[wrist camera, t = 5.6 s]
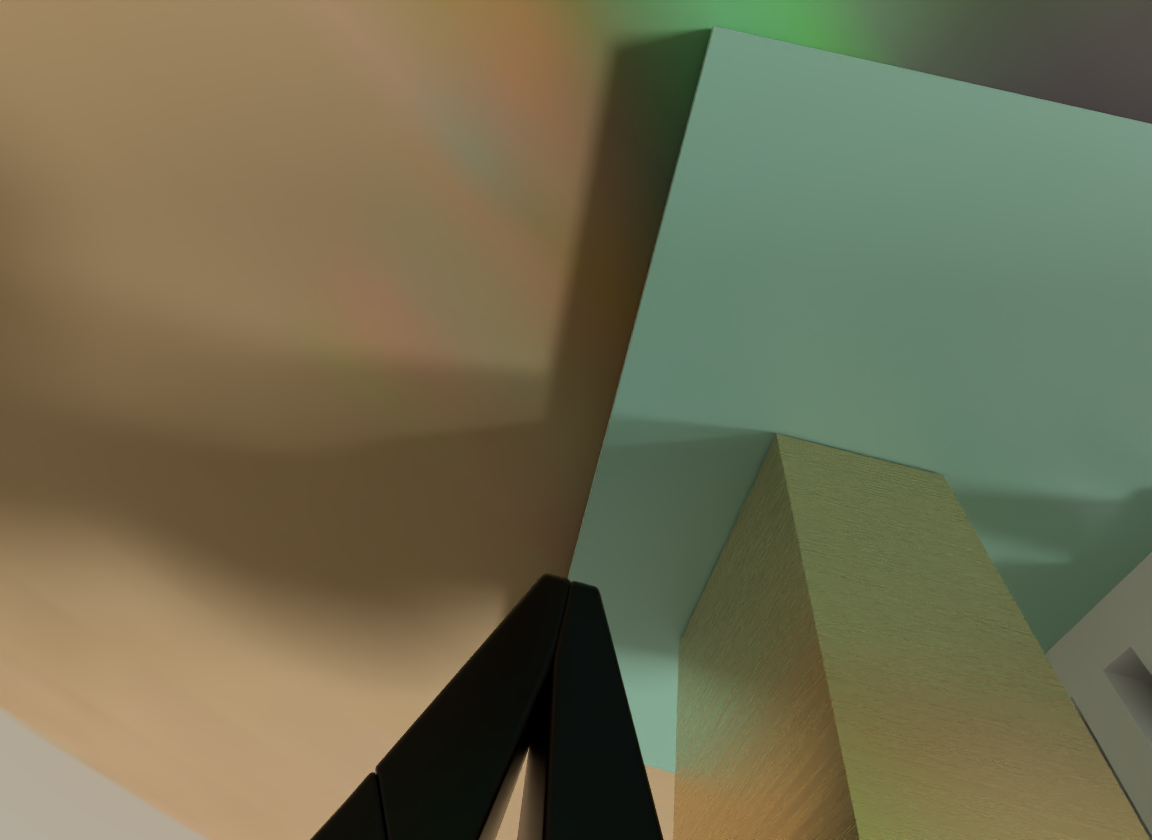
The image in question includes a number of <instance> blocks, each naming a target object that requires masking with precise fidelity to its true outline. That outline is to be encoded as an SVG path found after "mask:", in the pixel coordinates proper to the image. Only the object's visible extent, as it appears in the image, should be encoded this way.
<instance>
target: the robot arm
mask: <svg viewBox="0 0 1152 840" xmlns="http://www.w3.org/2000/svg"><path fill="white" fill-rule="evenodd" d="M528 749H529V752H528ZM527 752H528V760H527V767H526V775H525V783H524V791H523V798H522V806H521V814H520V822H519V829H518V837H517V840H663V836H662V832H661V828H660V824H659V820H658V816H657V812H656V808H655V804H654V801H653V797H652V793H651V789H650V785H649V781H648V777H647V773H646V769H645V765H644V762H643V758H642V754H641V750H640V746H639V742H638V738H637V734H636V730H635V726H634V723H633V719H632V715H631V711H630V707H629V703H628V699H627V695H626V691H625V688H624V684H623V680H622V676H621V672H620V668H619V664H618V660H617V656H616V652H615V649H614V645H613V641H612V637H611V633H610V629H609V625H608V621H607V617H606V613H605V610H604V606H603V602H602V598H601V594H600V591H599V589H598V588H597V587H595V586H593V585H589V584H585V583H582V582H578V581H572V582H571V581H570V580H569V579H567V578H563V577H559V576H556V575H552V574H544V575H543V576H541V577H540V578H539V580H538V581H537V582H536V583H535V584H534V585H533V586H532V588H531V589H530V590H529V591H528V592H527V593H526V594H525V596H524V597H523V598H522V599H521V600H520V601H519V603H518V604H517V605H516V606H515V607H514V608H513V609H512V611H511V612H510V613H509V614H508V615H507V616H506V618H505V619H504V620H503V621H502V622H501V623H500V624H499V626H498V627H497V628H496V629H495V630H494V631H493V632H492V634H491V635H490V636H489V637H488V638H487V639H486V641H485V642H484V643H483V644H482V645H481V646H480V647H479V649H478V650H477V651H476V652H475V653H474V654H473V656H472V657H471V658H470V659H469V660H468V661H467V662H466V664H465V665H464V666H463V667H462V668H461V669H460V670H459V672H458V673H457V674H456V675H455V676H454V677H453V679H452V680H451V681H450V682H449V683H448V684H447V685H446V687H445V688H444V689H443V690H442V691H441V692H440V693H439V695H438V696H437V697H436V698H435V699H434V700H433V702H432V703H431V704H430V705H429V706H428V707H427V708H426V710H425V711H424V712H423V713H422V714H421V715H420V717H419V718H418V719H417V720H416V721H415V722H414V723H413V725H412V726H411V727H410V728H409V729H408V730H407V731H406V733H405V734H404V735H403V736H402V737H401V738H400V740H399V741H398V742H397V743H396V744H395V745H394V746H393V748H392V749H391V750H390V751H389V752H388V753H387V754H386V756H385V757H384V758H383V759H382V760H381V761H380V763H379V764H378V765H377V766H376V769H375V773H374V772H372V773H370V774H369V775H368V776H367V777H366V778H365V779H364V780H363V782H362V783H361V784H360V785H359V786H358V787H357V788H356V790H355V791H354V792H353V793H352V794H351V795H350V797H349V798H348V799H347V800H346V801H345V802H344V803H343V804H342V805H341V807H340V808H339V809H338V810H337V811H336V812H335V813H334V814H333V815H332V816H331V817H330V819H329V820H328V821H327V822H326V823H325V824H324V825H323V826H322V827H321V828H320V829H319V831H318V832H317V833H316V834H315V835H314V836H313V837H312V838H311V839H310V840H495V838H496V836H497V833H498V830H499V828H500V825H501V822H502V820H503V817H504V814H505V811H506V809H507V806H508V803H509V801H510V798H511V795H512V793H513V790H514V787H515V784H516V782H517V779H518V776H519V774H520V771H521V768H522V766H523V763H524V760H525V758H526V755H527Z"/></svg>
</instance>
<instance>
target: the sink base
mask: <svg viewBox="0 0 1152 840" xmlns="http://www.w3.org/2000/svg"><path fill="white" fill-rule="evenodd" d="M776 434H780V435H784V436H788V437H792V438H796V439H800V440H804V441H808V442H812V443H816V444H820V445H824V446H828V447H832V448H836V449H840V450H844V451H848V452H852V453H856V454H860V455H864V456H868V457H872V458H876V459H880V460H884V461H888V462H892V463H896V464H900V465H904V466H908V467H912V468H916V469H920V470H924V471H928V472H932V473H936V474H940V475H943V476H944V477H945V479H946V481H947V483H948V484H949V486H950V488H951V490H952V491H953V493H954V495H955V497H956V498H957V500H958V502H959V504H960V506H961V507H962V509H963V511H964V513H965V514H966V516H967V518H968V520H969V521H970V523H971V525H972V527H973V528H974V530H975V532H976V534H977V535H978V537H979V539H980V541H981V543H982V544H983V546H984V548H985V550H986V551H987V553H988V555H989V557H990V558H991V560H992V562H993V564H994V565H995V567H996V569H997V571H998V572H999V574H1000V576H1001V578H1002V579H1003V581H1004V583H1005V585H1006V587H1007V588H1008V590H1009V592H1010V594H1011V595H1012V597H1013V599H1014V601H1015V602H1016V604H1017V606H1018V608H1019V609H1020V611H1021V613H1022V615H1023V616H1024V618H1025V620H1026V622H1027V624H1028V625H1029V627H1030V629H1031V631H1032V632H1033V634H1034V636H1035V638H1036V639H1037V641H1038V643H1039V645H1040V646H1041V648H1042V650H1043V652H1044V653H1045V655H1046V657H1047V659H1048V660H1049V662H1050V664H1051V666H1052V668H1053V669H1054V671H1055V673H1056V675H1057V676H1058V678H1059V680H1060V682H1061V683H1062V685H1063V687H1064V689H1065V690H1066V692H1067V694H1068V696H1069V697H1070V699H1071V701H1072V703H1073V704H1074V706H1075V708H1076V710H1077V712H1078V713H1079V715H1080V717H1081V719H1082V720H1083V722H1084V724H1085V726H1086V727H1087V729H1088V731H1089V733H1090V734H1091V736H1092V738H1093V740H1094V741H1095V743H1096V745H1097V747H1098V749H1099V750H1100V752H1101V754H1102V756H1103V757H1104V759H1105V761H1106V763H1107V764H1108V766H1109V768H1110V770H1111V771H1112V773H1113V775H1114V777H1115V778H1116V780H1117V782H1118V784H1119V785H1120V787H1121V789H1122V791H1123V793H1124V794H1125V796H1126V798H1127V800H1128V801H1129V803H1130V805H1131V807H1132V808H1133V810H1134V812H1135V814H1136V815H1137V817H1138V819H1139V821H1140V822H1141V824H1142V826H1143V828H1144V830H1145V831H1146V833H1147V835H1148V837H1149V838H1150V840H1152V124H1150V123H1145V122H1141V121H1136V120H1132V119H1127V118H1123V117H1118V116H1114V115H1110V114H1105V113H1101V112H1096V111H1092V110H1087V109H1083V108H1078V107H1074V106H1069V105H1065V104H1061V103H1056V102H1052V101H1047V100H1043V99H1038V98H1034V97H1029V96H1025V95H1020V94H1016V93H1011V92H1007V91H1003V90H998V89H994V88H989V87H985V86H980V85H976V84H971V83H967V82H962V81H958V80H953V79H949V78H945V77H940V76H936V75H931V74H927V73H922V72H918V71H913V70H909V69H904V68H900V67H895V66H891V65H887V64H882V63H878V62H873V61H869V60H864V59H860V58H855V57H851V56H846V55H842V54H838V53H833V52H829V51H824V50H820V49H815V48H811V47H806V46H802V45H797V44H793V43H788V42H784V41H780V40H775V39H771V38H766V37H762V36H757V35H753V34H748V33H744V32H739V31H735V30H730V29H726V28H722V27H717V26H714V27H712V30H711V34H710V37H709V41H708V45H707V49H706V53H705V56H704V60H703V64H702V68H701V72H700V75H699V79H698V83H697V87H696V91H695V94H694V98H693V102H692V106H691V110H690V113H689V117H688V121H687V125H686V129H685V132H684V136H683V140H682V144H681V148H680V151H679V155H678V159H677V163H676V167H675V170H674V174H673V178H672V182H671V186H670V189H669V193H668V197H667V201H666V205H665V208H664V212H663V216H662V220H661V224H660V227H659V231H658V235H657V239H656V243H655V246H654V250H653V254H652V258H651V262H650V265H649V269H648V273H647V277H646V281H645V284H644V288H643V292H642V296H641V300H640V303H639V307H638V311H637V315H636V319H635V322H634V326H633V330H632V334H631V338H630V341H629V345H628V349H627V353H626V357H625V360H624V364H623V368H622V372H621V376H620V379H619V383H618V387H617V391H616V395H615V398H614V402H613V406H612V410H611V414H610V417H609V421H608V425H607V429H606V433H605V436H604V440H603V444H602V448H601V452H600V455H599V459H598V463H597V467H596V471H595V474H594V478H593V482H592V486H591V490H590V493H589V497H588V501H587V505H586V509H585V512H584V516H583V520H582V524H581V528H580V531H579V535H578V539H577V543H576V547H575V550H574V554H573V558H572V562H571V566H570V569H569V573H568V577H567V579H569V580H570V581H571V582H572V581H578V582H582V583H585V584H589V585H593V586H595V587H597V588H598V589H599V591H600V594H601V598H602V602H603V606H604V610H605V613H606V617H607V621H608V625H609V629H610V633H611V637H612V641H613V645H614V649H615V652H616V656H617V660H618V664H619V668H620V672H621V676H622V680H623V684H624V688H625V691H626V695H627V699H628V703H629V707H630V711H631V715H632V719H633V723H634V726H635V730H636V734H637V738H638V742H639V746H640V750H641V754H642V758H643V762H644V765H647V766H651V767H655V768H658V769H662V770H666V771H669V772H673V773H675V762H676V726H677V689H678V653H679V643H680V641H681V639H682V636H683V634H684V632H685V630H686V628H687V626H688V623H689V621H690V619H691V617H692V615H693V613H694V611H695V608H696V606H697V604H698V602H699V600H700V598H701V595H702V593H703V591H704V589H705V587H706V585H707V582H708V580H709V578H710V576H711V574H712V572H713V570H714V567H715V565H716V563H717V561H718V559H719V557H720V554H721V552H722V550H723V548H724V546H725V544H726V541H727V539H728V537H729V535H730V533H731V531H732V529H733V526H734V524H735V522H736V520H737V518H738V516H739V513H740V511H741V509H742V507H743V505H744V503H745V500H746V498H747V496H748V494H749V492H750V490H751V488H752V485H753V483H754V481H755V479H756V477H757V475H758V472H759V470H760V468H761V466H762V464H763V462H764V459H765V457H766V455H767V453H768V451H769V449H770V447H771V444H772V442H773V440H774V438H775V436H776Z"/></svg>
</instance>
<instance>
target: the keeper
mask: <svg viewBox="0 0 1152 840" xmlns="http://www.w3.org/2000/svg"><path fill="white" fill-rule="evenodd" d="M673 840H1150V838H1149V837H1148V835H1147V833H1146V831H1145V830H1144V828H1143V826H1142V824H1141V822H1140V821H1139V819H1138V817H1137V815H1136V814H1135V812H1134V810H1133V808H1132V807H1131V805H1130V803H1129V801H1128V800H1127V798H1126V796H1125V794H1124V793H1123V791H1122V789H1121V787H1120V785H1119V784H1118V782H1117V780H1116V778H1115V777H1114V775H1113V773H1112V771H1111V770H1110V768H1109V766H1108V764H1107V763H1106V761H1105V759H1104V757H1103V756H1102V754H1101V752H1100V750H1099V749H1098V747H1097V745H1096V743H1095V741H1094V740H1093V738H1092V736H1091V734H1090V733H1089V731H1088V729H1087V727H1086V726H1085V724H1084V722H1083V720H1082V719H1081V717H1080V715H1079V713H1078V712H1077V710H1076V708H1075V706H1074V704H1073V703H1072V701H1071V699H1070V697H1069V696H1068V694H1067V692H1066V690H1065V689H1064V687H1063V685H1062V683H1061V682H1060V680H1059V678H1058V676H1057V675H1056V673H1055V671H1054V669H1053V668H1052V666H1051V664H1050V662H1049V660H1048V659H1047V657H1046V655H1045V653H1044V652H1043V650H1042V648H1041V646H1040V645H1039V643H1038V641H1037V639H1036V638H1035V636H1034V634H1033V632H1032V631H1031V629H1030V627H1029V625H1028V624H1027V622H1026V620H1025V618H1024V616H1023V615H1022V613H1021V611H1020V609H1019V608H1018V606H1017V604H1016V602H1015V601H1014V599H1013V597H1012V595H1011V594H1010V592H1009V590H1008V588H1007V587H1006V585H1005V583H1004V581H1003V579H1002V578H1001V576H1000V574H999V572H998V571H997V569H996V567H995V565H994V564H993V562H992V560H991V558H990V557H989V555H988V553H987V551H986V550H985V548H984V546H983V544H982V543H981V541H980V539H979V537H978V535H977V534H976V532H975V530H974V528H973V527H972V525H971V523H970V521H969V520H968V518H967V516H966V514H965V513H964V511H963V509H962V507H961V506H960V504H959V502H958V500H957V498H956V497H955V495H954V493H953V491H952V490H951V488H950V486H949V484H948V483H947V481H946V479H945V477H944V476H943V475H940V474H936V473H932V472H928V471H924V470H920V469H916V468H912V467H908V466H904V465H900V464H896V463H892V462H888V461H884V460H880V459H876V458H872V457H868V456H864V455H860V454H856V453H852V452H848V451H844V450H840V449H836V448H832V447H828V446H824V445H820V444H816V443H812V442H808V441H804V440H800V439H796V438H792V437H788V436H784V435H780V434H776V436H775V438H774V440H773V442H772V444H771V447H770V449H769V451H768V453H767V455H766V457H765V459H764V462H763V464H762V466H761V468H760V470H759V472H758V475H757V477H756V479H755V481H754V483H753V485H752V488H751V490H750V492H749V494H748V496H747V498H746V500H745V503H744V505H743V507H742V509H741V511H740V513H739V516H738V518H737V520H736V522H735V524H734V526H733V529H732V531H731V533H730V535H729V537H728V539H727V541H726V544H725V546H724V548H723V550H722V552H721V554H720V557H719V559H718V561H717V563H716V565H715V567H714V570H713V572H712V574H711V576H710V578H709V580H708V582H707V585H706V587H705V589H704V591H703V593H702V595H701V598H700V600H699V602H698V604H697V606H696V608H695V611H694V613H693V615H692V617H691V619H690V621H689V623H688V626H687V628H686V630H685V632H684V634H683V636H682V639H681V641H680V643H679V653H678V689H677V726H676V762H675V798H674V834H673Z"/></svg>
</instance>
